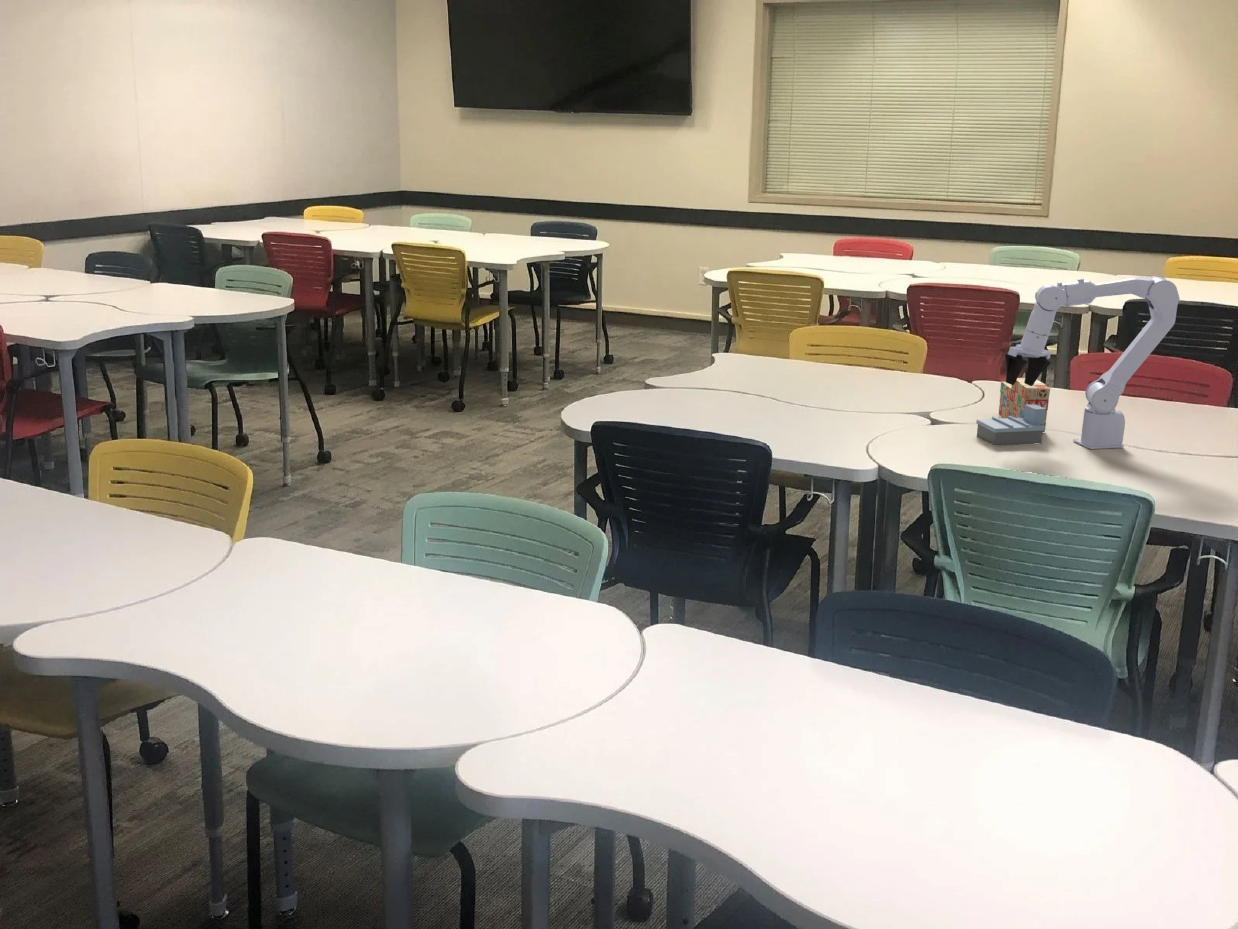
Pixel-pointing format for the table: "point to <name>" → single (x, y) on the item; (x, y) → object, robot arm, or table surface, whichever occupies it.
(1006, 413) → the stack of blocks
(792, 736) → the table surface
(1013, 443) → the tub
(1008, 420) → the lid
